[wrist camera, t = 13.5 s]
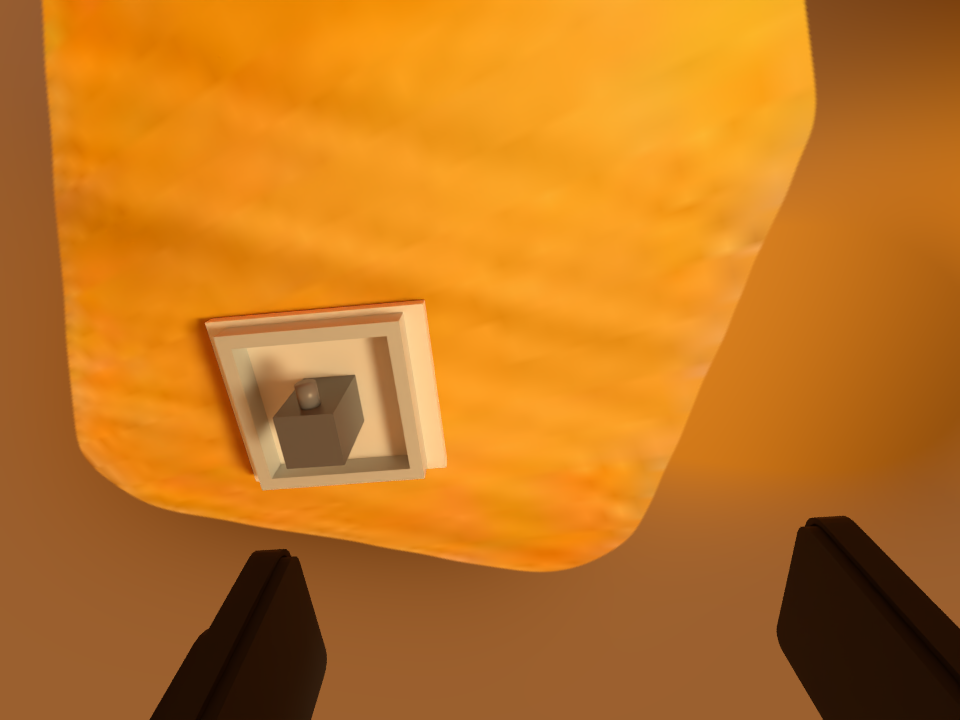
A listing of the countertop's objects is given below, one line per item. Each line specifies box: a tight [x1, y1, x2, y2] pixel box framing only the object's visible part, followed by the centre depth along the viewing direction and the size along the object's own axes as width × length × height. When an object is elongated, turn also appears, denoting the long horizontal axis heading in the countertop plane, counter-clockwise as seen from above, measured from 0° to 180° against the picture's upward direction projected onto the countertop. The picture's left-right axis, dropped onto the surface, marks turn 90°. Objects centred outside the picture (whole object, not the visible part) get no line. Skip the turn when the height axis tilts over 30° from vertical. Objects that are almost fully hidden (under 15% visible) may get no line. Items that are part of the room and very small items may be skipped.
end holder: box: [205, 300, 447, 490], centre depth 38 cm, size 14×16×3 cm
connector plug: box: [273, 375, 364, 469], centre depth 35 cm, size 6×4×6 cm
